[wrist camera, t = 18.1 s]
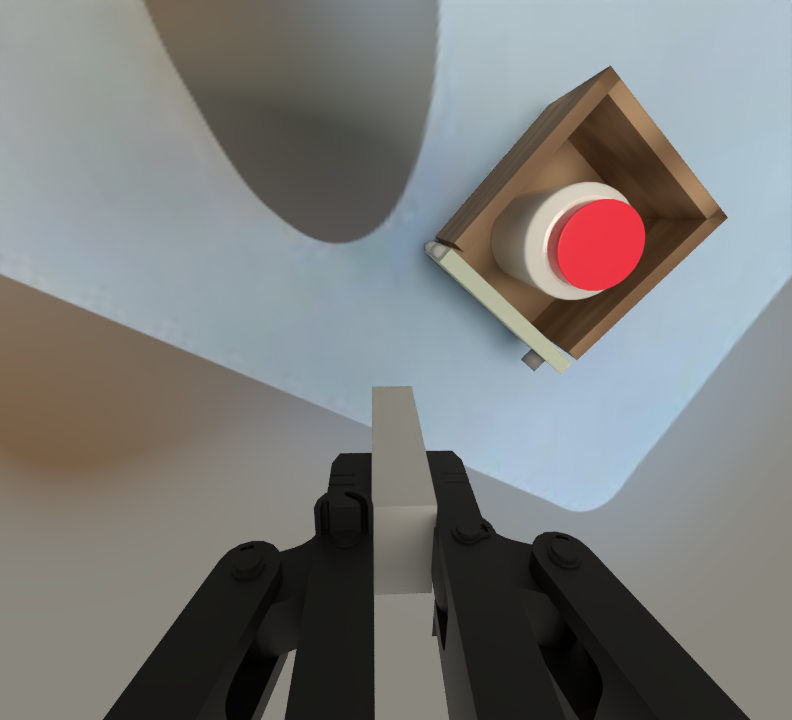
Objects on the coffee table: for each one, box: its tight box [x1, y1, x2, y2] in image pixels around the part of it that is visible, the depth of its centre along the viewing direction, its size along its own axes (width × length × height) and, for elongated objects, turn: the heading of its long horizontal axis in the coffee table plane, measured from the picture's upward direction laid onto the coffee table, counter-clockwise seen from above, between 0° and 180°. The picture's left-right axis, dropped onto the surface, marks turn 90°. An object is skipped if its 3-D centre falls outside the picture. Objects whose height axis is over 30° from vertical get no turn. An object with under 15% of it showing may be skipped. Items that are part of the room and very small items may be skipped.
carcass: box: [436, 66, 728, 360], centre depth 31 cm, size 13×14×9 cm
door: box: [425, 241, 572, 374], centre depth 33 cm, size 13×2×9 cm, turn 49°
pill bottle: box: [491, 182, 645, 300], centre depth 30 cm, size 8×8×11 cm
